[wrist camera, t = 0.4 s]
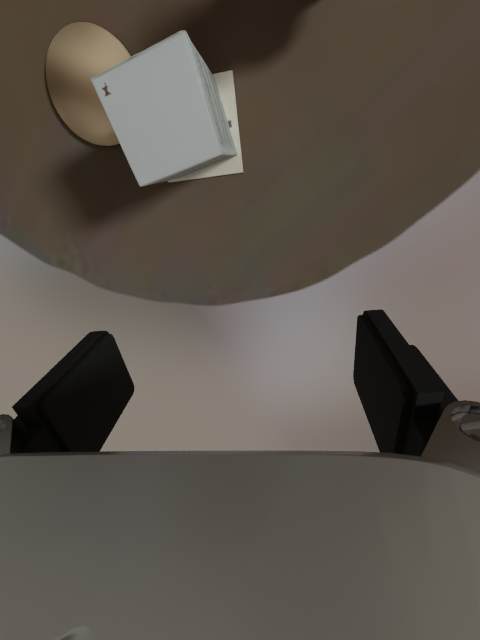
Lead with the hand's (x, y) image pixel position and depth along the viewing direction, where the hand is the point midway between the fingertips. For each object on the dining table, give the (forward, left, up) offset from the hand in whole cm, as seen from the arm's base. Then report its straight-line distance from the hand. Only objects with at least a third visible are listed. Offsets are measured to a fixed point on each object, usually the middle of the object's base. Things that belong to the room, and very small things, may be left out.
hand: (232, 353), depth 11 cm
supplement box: (-10, -6, -28) cm, 30 cm away
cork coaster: (-15, -16, -28) cm, 35 cm away
